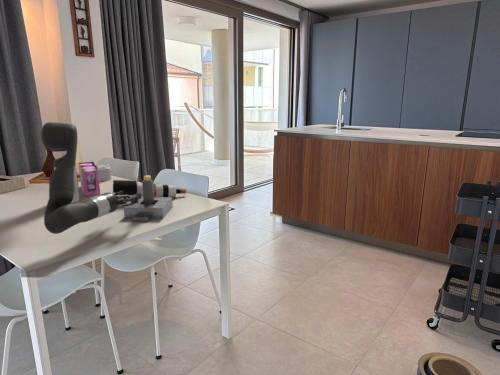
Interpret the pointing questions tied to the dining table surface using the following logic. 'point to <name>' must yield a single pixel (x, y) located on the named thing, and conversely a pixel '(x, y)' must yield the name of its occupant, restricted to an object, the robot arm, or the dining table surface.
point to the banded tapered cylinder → (135, 188)
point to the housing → (148, 209)
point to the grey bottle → (148, 190)
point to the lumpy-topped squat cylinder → (104, 172)
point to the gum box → (89, 178)
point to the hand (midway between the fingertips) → (131, 194)
